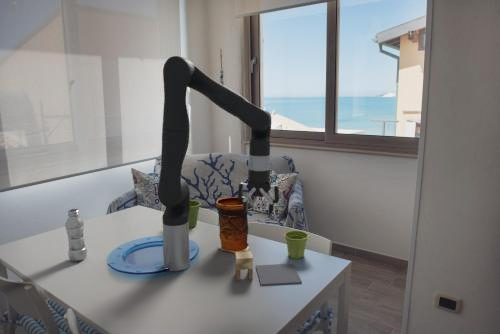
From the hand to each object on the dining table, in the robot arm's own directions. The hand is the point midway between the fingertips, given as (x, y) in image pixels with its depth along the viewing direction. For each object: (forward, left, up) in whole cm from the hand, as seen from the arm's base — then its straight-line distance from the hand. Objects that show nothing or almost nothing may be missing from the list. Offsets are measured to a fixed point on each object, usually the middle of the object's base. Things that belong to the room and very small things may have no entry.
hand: (258, 212), depth 132 cm
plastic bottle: (-68, +17, -22) cm, 74 cm away
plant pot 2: (+17, +11, -22) cm, 30 cm away
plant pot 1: (-27, +51, -22) cm, 62 cm away
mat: (+7, -4, -22) cm, 23 cm away
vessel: (-7, +23, -22) cm, 33 cm away
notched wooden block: (-5, -4, -22) cm, 23 cm away
